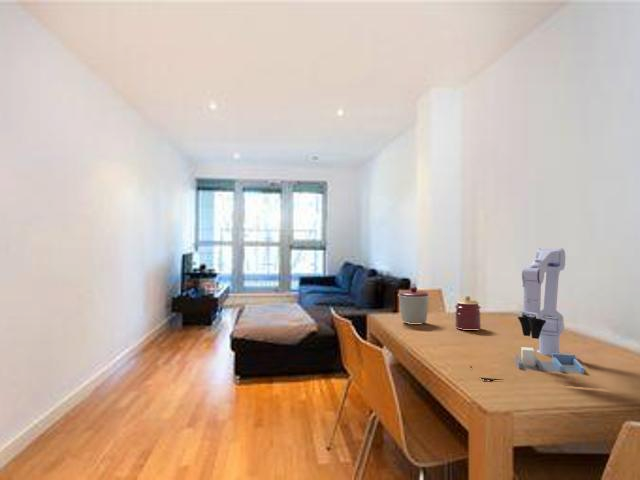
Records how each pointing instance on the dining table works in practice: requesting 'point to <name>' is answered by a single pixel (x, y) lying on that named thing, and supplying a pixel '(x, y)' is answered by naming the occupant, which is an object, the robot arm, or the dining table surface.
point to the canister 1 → (414, 305)
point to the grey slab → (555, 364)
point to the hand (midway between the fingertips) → (530, 337)
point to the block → (527, 356)
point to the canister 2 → (468, 314)
